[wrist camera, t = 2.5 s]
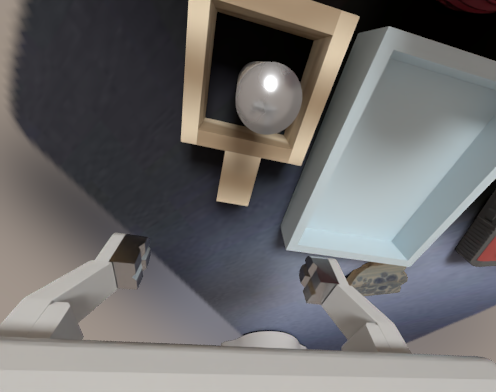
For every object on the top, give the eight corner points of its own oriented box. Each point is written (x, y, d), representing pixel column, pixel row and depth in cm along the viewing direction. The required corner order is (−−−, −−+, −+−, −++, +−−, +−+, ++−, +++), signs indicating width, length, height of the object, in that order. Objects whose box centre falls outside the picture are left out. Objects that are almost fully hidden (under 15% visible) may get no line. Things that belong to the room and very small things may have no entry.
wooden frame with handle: (276, 190, 24) (282, 211, 20) (187, 174, 22) (177, 194, 19) (334, 25, 16) (359, 16, 13) (202, -16, 14) (190, -40, 11)
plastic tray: (390, 243, 29) (409, 267, 26) (280, 226, 27) (286, 250, 23) (519, 84, 19) (581, 89, 15) (358, 33, 16) (389, 26, 13)
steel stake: (267, 104, 19) (289, 140, 10) (234, 96, 18) (229, 127, 10) (277, 66, 17) (312, 72, 9) (241, 56, 17) (243, 53, 8)
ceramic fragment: (422, 257, 29) (406, 306, 33) (406, 243, 32) (393, 290, 36) (344, 264, 29) (338, 312, 33) (335, 249, 32) (330, 295, 36)
